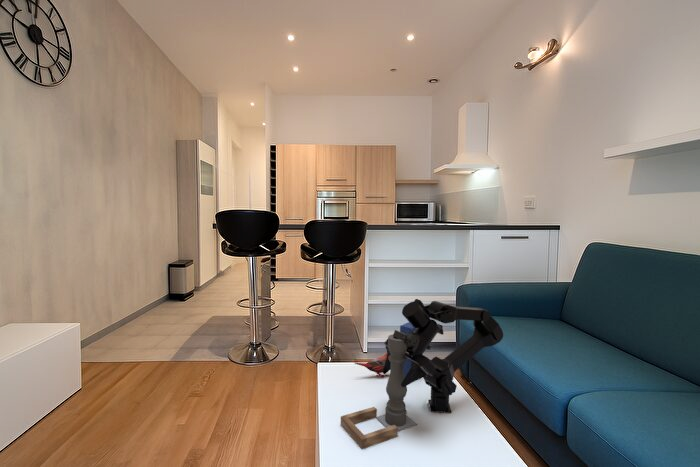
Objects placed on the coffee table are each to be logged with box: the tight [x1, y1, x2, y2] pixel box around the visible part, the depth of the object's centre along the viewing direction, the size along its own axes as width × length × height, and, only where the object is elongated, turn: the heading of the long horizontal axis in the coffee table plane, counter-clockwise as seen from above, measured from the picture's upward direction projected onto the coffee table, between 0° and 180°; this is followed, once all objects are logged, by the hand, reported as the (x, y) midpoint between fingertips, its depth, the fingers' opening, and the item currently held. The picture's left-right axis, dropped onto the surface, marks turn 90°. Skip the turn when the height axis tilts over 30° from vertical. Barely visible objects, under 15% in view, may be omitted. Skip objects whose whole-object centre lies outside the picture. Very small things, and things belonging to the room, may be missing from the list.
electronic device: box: [399, 321, 417, 377], centre depth 136 cm, size 10×5×20 cm, turn 141°
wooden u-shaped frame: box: [340, 406, 399, 449], centre depth 101 cm, size 12×12×2 cm
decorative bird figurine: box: [354, 352, 387, 377], centre depth 134 cm, size 3×18×10 cm, turn 103°
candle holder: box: [384, 334, 408, 427], centre depth 105 cm, size 6×6×25 cm
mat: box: [375, 413, 418, 432], centre depth 106 cm, size 9×8×1 cm
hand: (392, 379), depth 104 cm, fingers open, 9 cm apart
